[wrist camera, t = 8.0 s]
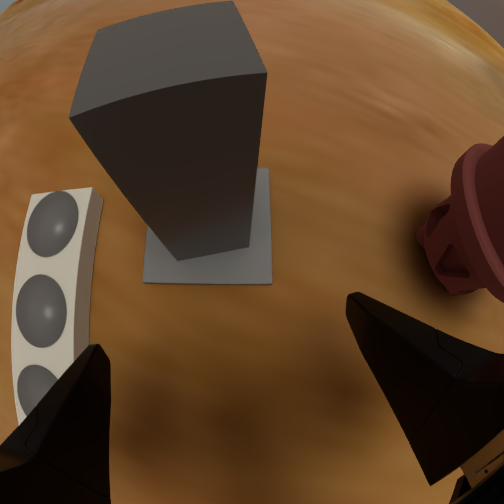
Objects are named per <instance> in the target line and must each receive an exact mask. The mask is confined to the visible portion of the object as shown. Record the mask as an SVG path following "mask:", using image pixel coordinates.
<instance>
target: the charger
mask: <svg viewBox="0 0 504 504" xmlns="http://www.w3.org/2000/svg"><path fill="white" fill-rule="evenodd" d="M266 80H267V71H266V69H265V66H264V64H263V62H262V60H261V57H260V55H259V53H258V51H257V49H256V47H255V44H254V42H253V40H252V38H251V36H250V34H249V32H248V30H247V28H246V26H245V24H244V22H243V20H242V18H241V16H240V14H239V12H238V10H237V8H236V6H235V4H234V2H233V1H224V2H214V3H206V4H199V5H192V6H186V7H180V8H175V9H170V10H165V11H161V12H156V13H152V14H148V15H144V16H140V17H137V18H133V19H130V20H126V21H123V22H120V23H117V24H114V25H111V26H108V27H105V28H102V29H99V30H98V31H97V33H96V35H95V38H94V40H93V43H92V45H91V48H90V50H89V53H88V56H87V58H86V61H85V64H84V67H83V70H82V73H81V76H80V79H79V82H78V86H77V89H76V92H75V96H74V99H73V103H72V107H71V111H70V115H69V119H70V120H71V122H72V123H73V125H74V126H75V128H76V129H77V131H78V132H79V134H80V135H81V137H82V138H83V140H84V141H85V142H86V144H87V145H88V147H89V148H90V149H91V151H92V152H93V154H94V155H95V157H96V158H97V159H98V161H99V162H100V163H101V165H102V166H103V168H104V169H105V170H106V172H107V173H108V174H109V176H110V177H111V178H112V180H113V181H114V182H115V184H116V185H117V186H118V188H119V189H120V190H121V192H122V193H123V194H124V196H125V197H126V198H127V199H128V201H129V202H130V203H131V205H132V206H133V207H134V208H135V210H136V211H137V212H138V214H139V215H140V216H141V217H142V219H143V220H144V221H145V222H146V224H147V225H148V226H149V227H150V229H151V230H152V231H153V232H154V234H155V235H156V236H157V237H158V238H159V240H160V241H161V242H162V243H163V245H164V246H165V247H166V248H167V249H168V251H169V252H170V253H171V254H172V255H173V256H174V258H175V259H176V260H177V261H182V260H187V259H192V258H197V257H202V256H207V255H212V254H217V253H222V252H227V251H232V250H237V249H242V248H248V247H249V243H250V234H251V224H252V214H253V204H254V194H255V185H256V175H257V165H258V156H259V146H260V137H261V127H262V118H263V108H264V99H265V89H266Z"/></svg>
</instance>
